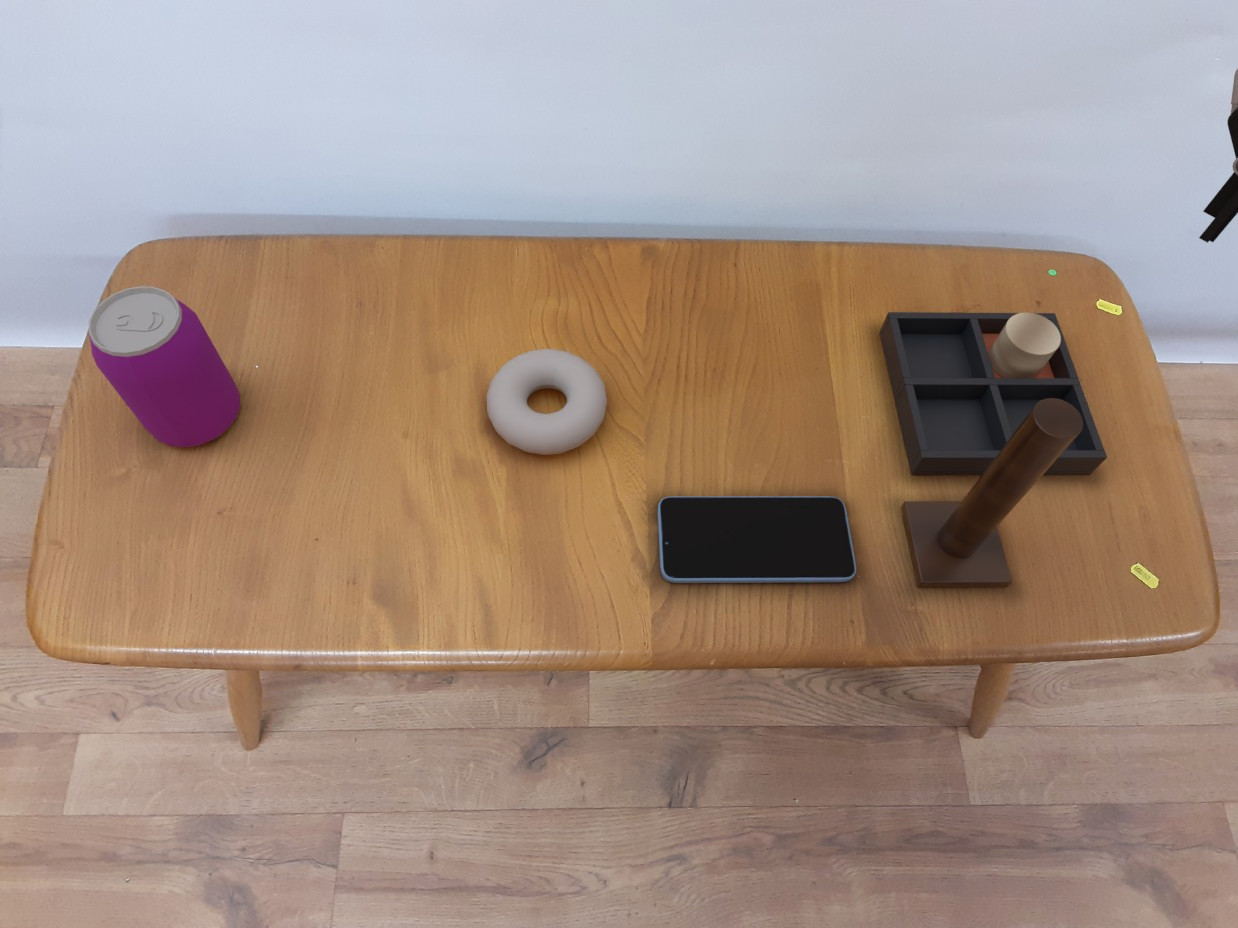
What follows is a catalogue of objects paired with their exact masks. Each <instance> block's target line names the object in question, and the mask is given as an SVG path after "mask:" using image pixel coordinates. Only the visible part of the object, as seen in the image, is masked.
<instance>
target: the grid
mask: <svg viewBox="0 0 1238 928" xmlns="http://www.w3.org/2000/svg"><path fill="white" fill-rule="evenodd" d="M1018 313H1019V312H942V311H941V312H936V311H935V312H933V311H932V312H929V311H926V312H925V311H924V312H922V311H921V312H915V311H913V312H912V311H906V312H905V311H903V312H902V311H898V312H897V311H889V312H887V313H886V316H885V318H884V321H883V323H882V325H881V327H880V330H879V332H878V333H879V337H880V342H881V347H882V350H883V355H884V358H885V359H884V360H885V364H886V368H887V373H888V378H889V381H890V385H891V390H892V395H893V399H894V405H895V407H896V414H897V417H898V422H899V425H900V431H901V434H902V440H903V444H904V448H905V451H906V452H905V453H906V457H907V461H908V466H909V471H910V473H911V474H910V475H911V476H981V475H982V474H983V473H984V472H985V470H986V469H987V468H988V466H989V465H990V464H991V462H992V461H993V460H994V458H995V457H996V456H997V455H998V453H999V452H1000V451H1001V449H1002V448H1003V447H1004V445H1005V444H1006V443H1007V442H1008V440H1009V439H1010V438H1011V436H1012V435H1013V434H1014V432H1015V431H1016V430H1017V429H1018V427H1019V426H1020V425H1021V423H1022V422H1023V421H1024V419H1025V418H1026V417H1027V415H1028V414H1029V413H1030V412H1031V410H1032V409H1033V408H1034V406H1035V405H1036V404H1037V403H1038V402H1039V401H1041V400H1044V399H1048V398H1055V399H1060V400H1063V401H1065V402H1067V403H1069V404H1071V405H1072V406H1073V407H1074V408H1075V409H1076V410H1077V411H1078V412H1079V414H1080V415H1081V418H1082V421H1083V427H1082V430H1081V432H1080V433H1079V434H1078V436H1077V437H1076V438H1075V439H1074V440H1073V441H1072V442H1071V443H1070V445H1069V446H1068V447H1067V448H1066V449H1065V450H1064V451H1063V453H1062V454H1061V455H1060V456H1059V457H1058V458H1057V459H1056V460H1055V462H1054V463H1053V464H1052V465H1051V466H1050V467H1049V468H1048V469H1047V471H1046V472H1045V473H1044V474H1043V475H1042V476H1057V475H1058V476H1089V475H1090V476H1091V475H1092V473H1094V471H1095V470H1097V469H1098V468H1099V466H1101V465H1102V464H1103V463H1104V461H1105V460H1106V459H1108V455H1107V453H1106V450H1105V448H1104V445H1103V442H1102V439H1101V436H1100V433H1099V431H1098V429H1097V425H1096V423H1095V420H1094V417H1093V415H1092V412H1091V409H1090V406H1089V403H1088V401H1087V398H1086V396H1085V392H1084V390H1083V387H1082V385H1081V384H1082V383H1081V382H1080V379H1079V375H1078V372H1077V369H1076V368H1075V365H1074V362H1073V358H1072V356H1071V354H1070V350H1069V347H1068V346H1067V342H1066V340H1065V336H1064V334H1063V331H1062V328H1061V326H1060V323H1059V320H1058V317H1057V315H1056V313H1055V312H1034V313H1035V314H1038V315H1041V316H1043V317H1045V318H1047V319H1048V320H1050V321H1051V322H1052V323H1053V324H1054V325H1055V326H1056V327H1057V329H1058V331H1059V333H1060V336H1061V342H1060V345H1059V347H1058V349H1057V350H1056V351H1055V353H1054V354H1053V355H1052V357H1051V358H1050V359H1049V361H1048V362H1047V364H1046V365H1045V366H1044V368H1043V369H1042V370H1041V372H1040V373H1039V374H1038V376H1037V377H1036V378H1002V377H1000V376H999V375H998V374H997V373H995V372H994V370H993V369H992V365H991V362H990V359H989V355H988V352H989V350H990V348H991V347H992V345H993V343H994V342H995V340H996V339H997V337H998V336H999V334H1000V332H1001V331H1002V329H1003V328H1004V326H1005V324H1006V323H1007V321H1008V320H1009V319H1010V318H1011V317H1012V316H1014V315H1016V314H1018Z"/></svg>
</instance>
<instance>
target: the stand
mask: <svg viewBox="0 0 1238 928" xmlns="http://www.w3.org/2000/svg"><path fill="white" fill-rule="evenodd" d="M1082 427H1083V421H1082V418H1081V415H1080V414H1079V412H1078V411H1077V410H1076V409H1075V408H1074V407H1073V406H1072V405H1071V404H1069V403H1067V402H1065V401H1063V400H1060V399H1055V398H1048V399H1044V400H1041V401H1039V402H1038V403H1037V404H1036V405H1035V406H1034V408H1033V409H1032V410H1031V412H1030V413H1029V414H1028V415H1027V417H1026V418H1025V419H1024V421H1023V422H1022V423H1021V425H1020V426H1019V427H1018V429H1017V430H1016V431H1015V432H1014V434H1013V435H1012V436H1011V438H1010V439H1009V440H1008V442H1007V443H1006V444H1005V445H1004V447H1003V448H1002V449H1001V451H1000V452H999V453H998V455H997V456H996V457H995V458H994V460H993V461H992V462H991V464H990V465H989V466H988V468H987V469H986V470H985V472H984V473H983V474H982V475H980V477H979V478H978V479H977V480H976V482H975V483H974V484H973V486H972V487H971V488H970V490H969V491H968V492H967V494H966V495H965V496H964V497H963V499H961V501H903V503H902V504H901V506H900V511H901V515H902V521H903V525H904V529H905V534H906V539H907V544H908V548H909V553H910V558H911V563H912V567H913V572H914V576H915V581H916V585H917V586H916V587H917V588H918V589H919V588H921V589H922V588H926V589H927V588H931V589H932V588H1007V587H1009V586H1010V585H1011V584H1012V583H1013V580H1012V577H1011V573H1010V569H1009V565H1008V562H1007V558H1006V555H1005V551H1004V548H1003V543H1002V540H1001V536H1000V533H999V529H998V526H999V525H1000V524H1001V523H1002V521H1004V520H1005V518H1006V517H1007V516H1008V515H1009V514H1010V513H1011V511H1012V510H1013V509H1015V507H1016V506H1017V505H1018V503H1020V502H1021V500H1022V499H1023V498H1024V497H1025V495H1027V494H1028V493H1029V491H1030V490H1031V489H1032V487H1034V486H1035V484H1036V483H1037V482H1038V481H1039V480H1040V479H1041V477H1042V476H1044V475H1043V474H1044V473H1045V472H1046V471H1047V469H1048V468H1049V467H1050V466H1051V465H1052V464H1053V463H1054V462H1055V460H1056V459H1057V458H1058V457H1059V456H1060V455H1061V454H1062V453H1063V451H1064V450H1065V449H1066V448H1067V447H1068V446H1069V445H1070V443H1071V442H1072V441H1073V440H1074V439H1075V438H1076V437H1077V436H1078V434H1079V433H1080V432H1081V430H1082Z"/></svg>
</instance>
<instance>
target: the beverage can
mask: <svg viewBox="0 0 1238 928" xmlns="http://www.w3.org/2000/svg"><path fill="white" fill-rule="evenodd" d="M87 331H88V335H89V340H90V341H89V342H90V349H91V355H92V357H93V360H94V362H95V365H96V367H97V368H98V370H100V372H101V374H103V375H104V377H105V378H106V380H107V381H108V382H109V383H110V385H111V386H112V387H113V389H114V390H115V391H116V393H117V394H118V396H119V397H120V398H121V400H122V401H123V402H124V403H125V405H127V407H128V408H129V410H130V411H131V412H132V414H133V415H134V416H135V418H136V419H137V420H138V421H139V423H140V424H141V425H142V427H143V428H144V429H145V430H146V431H147V432H148V433H149V434H150V435H151V436H152V437H153V438H154V439H155V440H157V441H158V442H160V443H162V444H164V445H166V446H170V447H177V448H189V447H197V446H201V445H204V444H206V443H208V442H210V441H213V440H215V439H217V438H218V437H220V436H221V435H222V434H223V433H225V432H226V431H228V430H229V428H230V426H231V425H232V424H233V423H234V422H235V420H236V419H237V418H238V414H239V411H240V408H241V394H240V392H239V391H240V390H239V389H238V387H237V384H236V383H235V381H234V378H233V377H232V374H231V373H230V372H229V370H228V368H227V366H226V364H225V363H224V361H223V359H222V357H221V355H220V354H219V352H218V350H217V348H216V346H215V344H214V343H213V341H212V340H211V338H210V336H209V334H208V333H207V331H206V329H205V327H204V325H203V323H202V322H201V320H200V319H199V317H198V314H197V313H196V311H194V310H193V309H191V308H190V307H189V306H187V304H185V303H184V302H182V301H181V300H179V299H177V298H176V297H174V296H173V295H172V294H170V293H169V292H168V291H167V290H164V289H161V288H159V287H156V286H146V285H145V286H144V285H141V286H135V287H127V288H125V289H122V290H120V291H117V292H114V293H113V294H111V295H110V296H108V297H106V298H105V299H104V300H102V301H101V302H100V303H99V305H97V306H96V308H94V310H93V312H92V314H91V316H90V318H89V320H88V329H87Z"/></svg>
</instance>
